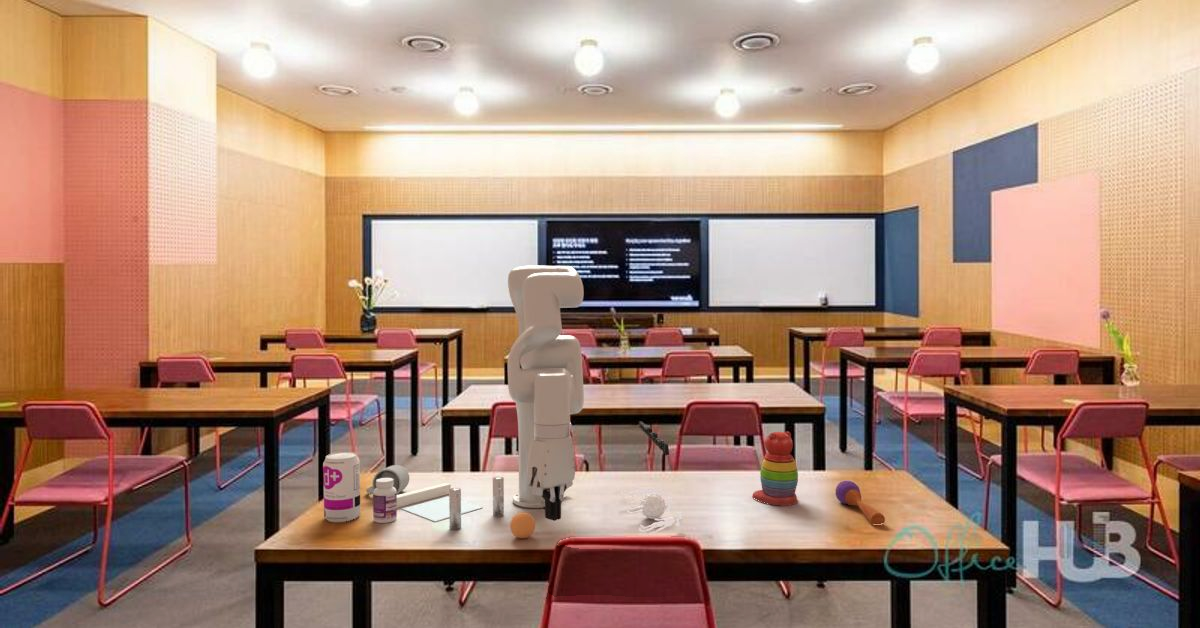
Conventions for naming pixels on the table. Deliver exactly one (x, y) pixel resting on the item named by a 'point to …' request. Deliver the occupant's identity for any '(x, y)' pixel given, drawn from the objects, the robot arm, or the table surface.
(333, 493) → the supplement can
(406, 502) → the strip
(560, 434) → the robot arm
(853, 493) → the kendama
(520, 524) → the ball
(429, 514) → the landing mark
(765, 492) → the stacking bear
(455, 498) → the post
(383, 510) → the pill bottle
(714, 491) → the table surface
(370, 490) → the ceramic mug
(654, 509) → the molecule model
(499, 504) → the post
